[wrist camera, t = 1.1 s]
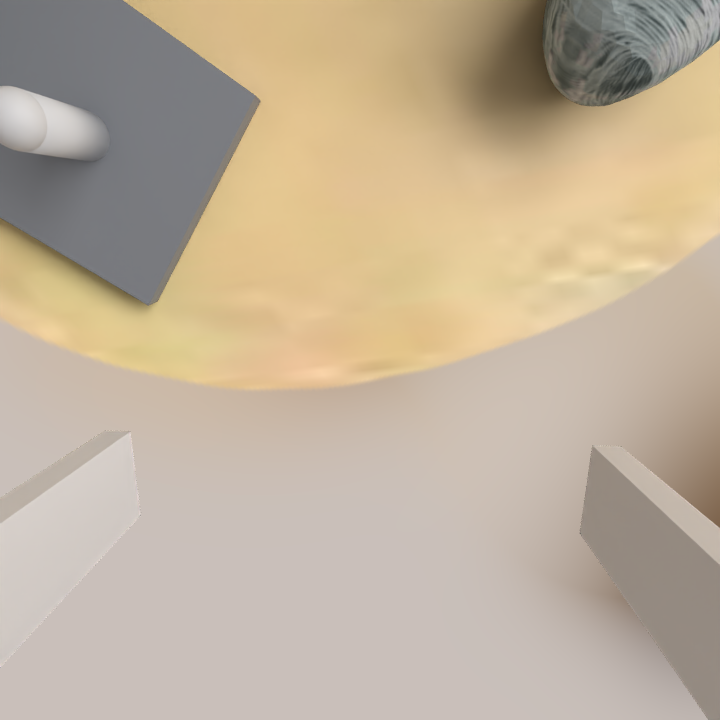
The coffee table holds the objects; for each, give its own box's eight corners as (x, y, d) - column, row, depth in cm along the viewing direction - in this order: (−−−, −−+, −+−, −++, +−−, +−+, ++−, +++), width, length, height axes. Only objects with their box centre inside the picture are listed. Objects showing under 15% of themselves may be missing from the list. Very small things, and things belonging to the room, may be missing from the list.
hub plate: (24, -69, 26) (-138, -198, 18) (260, 100, 29) (218, 59, 21) (-54, 175, 31) (-212, 165, 22) (157, 301, 34) (87, 334, 25)
